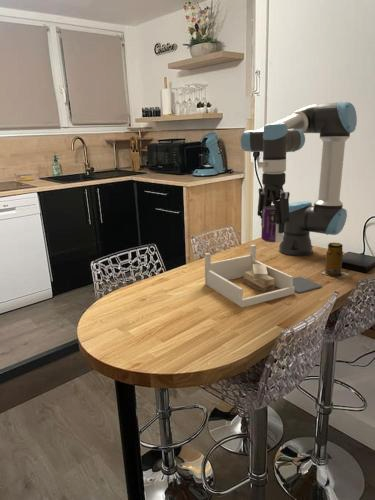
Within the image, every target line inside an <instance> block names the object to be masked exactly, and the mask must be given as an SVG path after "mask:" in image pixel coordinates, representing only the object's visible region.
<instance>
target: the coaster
mask: <svg viewBox="0 0 375 500" xmlns="http://www.w3.org/2000/svg"><path fill="white" fill-rule="evenodd" d="M293 287H295V289H294V293H297V294H301V293H305V292H309V291H313V290H316V289H317V290H318V289H320V288H322V287H323V286H322V284H320V283H317V282H314V281H312V280H310V279H308V278H305V277H303V276H297V277H293Z"/></svg>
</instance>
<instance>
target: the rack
mask: <svg viewBox="0 0 375 500" xmlns="http://www.w3.org/2000/svg"><path fill="white" fill-rule="evenodd" d="M256 253H257V246H256V244H250V246H249V254H247V255H243V256H242V255H241V256H238V257H233V258H228V259H227V258H226V259H224V260H223V259H222V260H217V261H212V259H211V258H212V256H211V253H210V252H206V253H204V284H205V285H206V286H208V287H209V288H211V289H212V290H214V291H215V292H217V293H218V294H220V295H221V296H223V297H225V298H226V299H228V300H230V301H231V302H232V303H234V304H236V305H237V306H238V307H240V308H247V307H249V306H253V305H257V304H260V303H264V302H265V303H266V302H268V301H272V300H277V299H279V298H283V297H288V296H291V295H294V294H295V291H294V289H295V287H293V278H294V276H292V275H291V274H288V273H285V272H283V271H282V270H279V269H276V268H274V267H272V266H270V265H267V264H265V263H262V262H261V261H259V260H257V259H256ZM253 264H262V265H266V269H267V273H268V276H270V277H272V278H274V285H275V288H279V289H275V290H272V291H269V292H265V293H264V292H263V293H260V294H256V295H252V296H248V297H245V298H244V296H243V295H244V294H243V293H244V291H243V290H244V288H242V287H240V286H238V285H237V284H236V283H234V282H232V281H230V280H235V279H238V278H241V277H243V278H244V277H245V272H247V271H252V270H253Z"/></svg>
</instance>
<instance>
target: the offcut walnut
mask: <svg viewBox="0 0 375 500" xmlns="http://www.w3.org/2000/svg"><path fill="white" fill-rule="evenodd" d="M242 283H243V284H245V285H247V286H250V287H251V288H254V289H255V290H258V291H260V292H262V293H263V294H264V293H268V292H272V291H275V290H276V286H275V285H272V286H268V287H264V288H262V287H260V286H259V285H257V284H255V283H253V282H251V281H249V280H247V279H246V278H245V276H243V278H242Z"/></svg>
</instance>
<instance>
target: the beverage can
mask: <svg viewBox="0 0 375 500" xmlns="http://www.w3.org/2000/svg"><path fill="white" fill-rule="evenodd" d="M261 212H262V226H261V239H262V241H264V242H266V243H276V242H275V238H276V223H277V222H278V221H277V216H276V211H275V206H274V204H271V205H270V206H264V209H263V211H261Z"/></svg>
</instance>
